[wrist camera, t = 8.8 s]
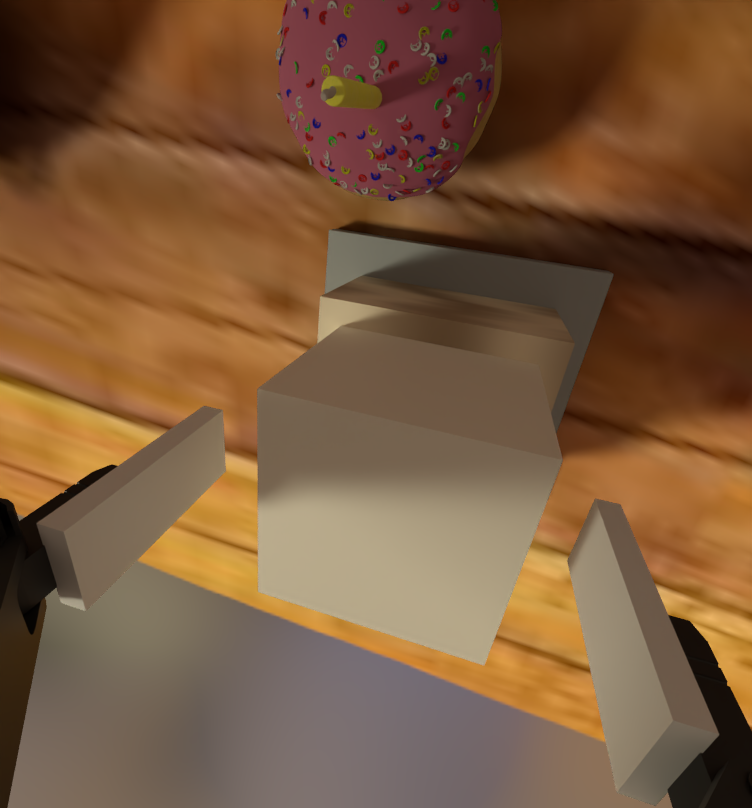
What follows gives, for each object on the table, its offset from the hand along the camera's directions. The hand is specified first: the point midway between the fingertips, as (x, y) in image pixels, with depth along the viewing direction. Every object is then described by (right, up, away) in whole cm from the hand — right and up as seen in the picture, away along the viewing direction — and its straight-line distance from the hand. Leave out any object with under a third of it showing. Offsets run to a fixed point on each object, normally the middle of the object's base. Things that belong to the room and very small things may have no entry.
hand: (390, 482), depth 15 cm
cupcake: (+1, +17, +5) cm, 18 cm away
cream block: (+1, +2, +4) cm, 4 cm away
